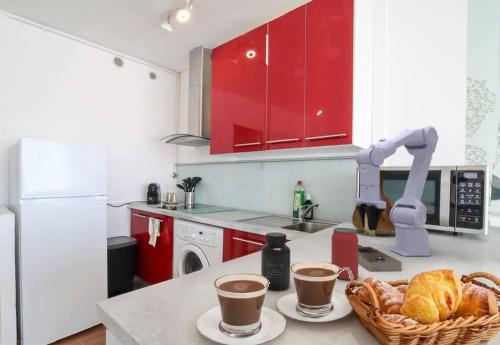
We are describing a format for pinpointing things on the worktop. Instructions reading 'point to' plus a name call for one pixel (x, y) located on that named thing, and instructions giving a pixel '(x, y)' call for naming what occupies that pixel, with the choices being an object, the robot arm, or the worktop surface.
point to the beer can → (345, 251)
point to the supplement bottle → (276, 261)
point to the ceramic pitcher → (384, 222)
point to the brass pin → (367, 231)
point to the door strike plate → (377, 260)
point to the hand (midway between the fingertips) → (369, 228)
